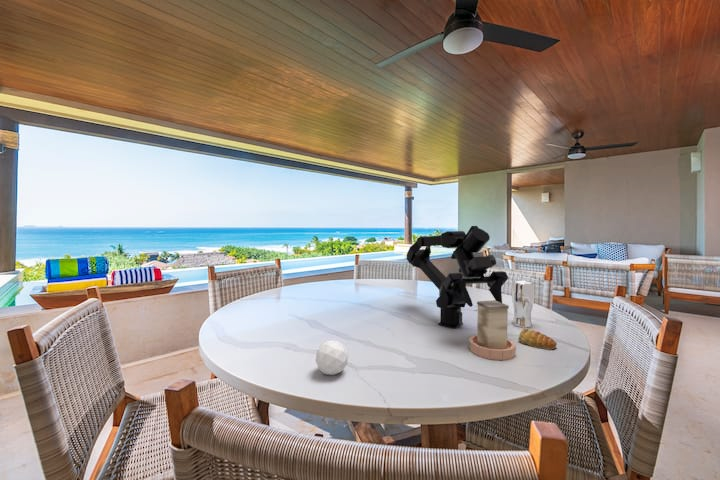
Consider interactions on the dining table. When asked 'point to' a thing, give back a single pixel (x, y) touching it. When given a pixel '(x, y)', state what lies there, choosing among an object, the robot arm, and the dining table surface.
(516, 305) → the beer glass
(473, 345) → the terracotta bowl
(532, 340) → the pastry
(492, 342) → the lidded square box
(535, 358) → the dining table surface
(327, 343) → the geometric ball
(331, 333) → the dining table surface
